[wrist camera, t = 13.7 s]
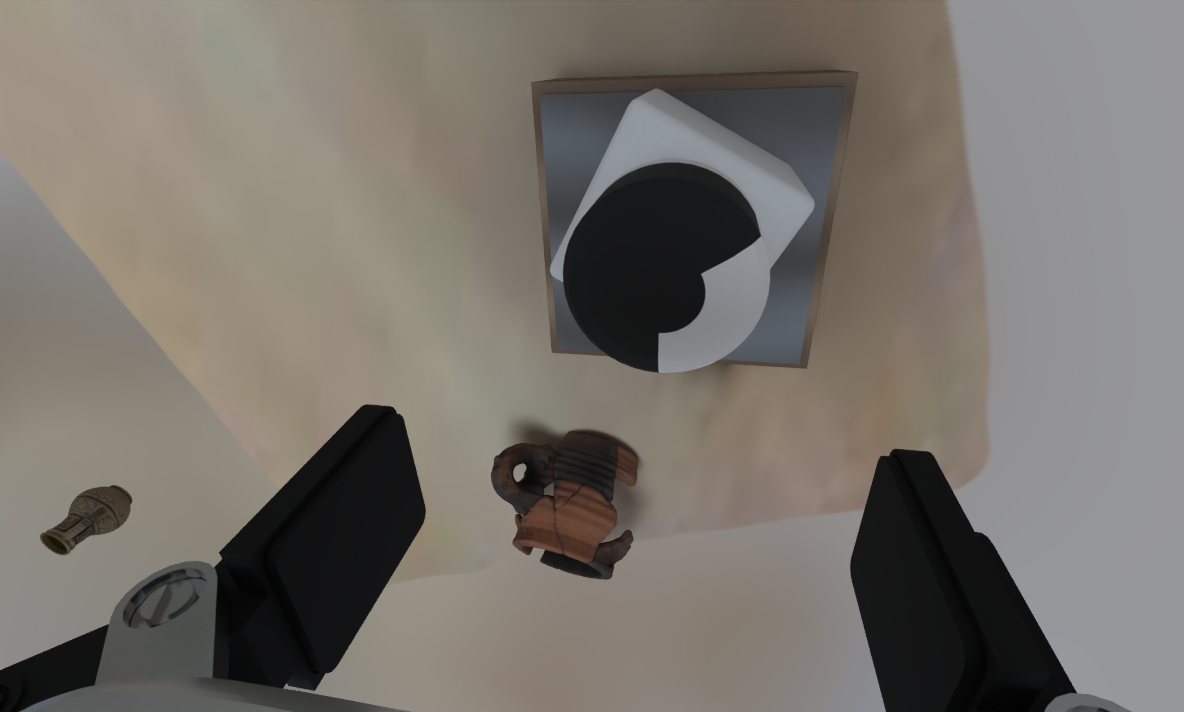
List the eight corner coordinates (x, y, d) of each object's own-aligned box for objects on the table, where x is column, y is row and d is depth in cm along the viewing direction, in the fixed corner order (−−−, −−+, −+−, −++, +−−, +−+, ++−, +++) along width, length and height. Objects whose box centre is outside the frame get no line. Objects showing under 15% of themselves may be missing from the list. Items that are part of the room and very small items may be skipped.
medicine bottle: (582, 226, 27) (502, 329, 17) (653, 84, 24) (607, 105, 13) (706, 296, 28) (701, 437, 17) (794, 166, 24) (854, 248, 14)
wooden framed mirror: (555, 79, 29) (528, 82, 25) (837, 69, 26) (861, 72, 22) (569, 320, 36) (549, 356, 31) (796, 332, 33) (808, 373, 29)
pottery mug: (678, 471, 40) (650, 588, 36) (606, 486, 47) (576, 583, 43) (541, 393, 36) (493, 514, 32) (486, 422, 43) (441, 523, 39)
